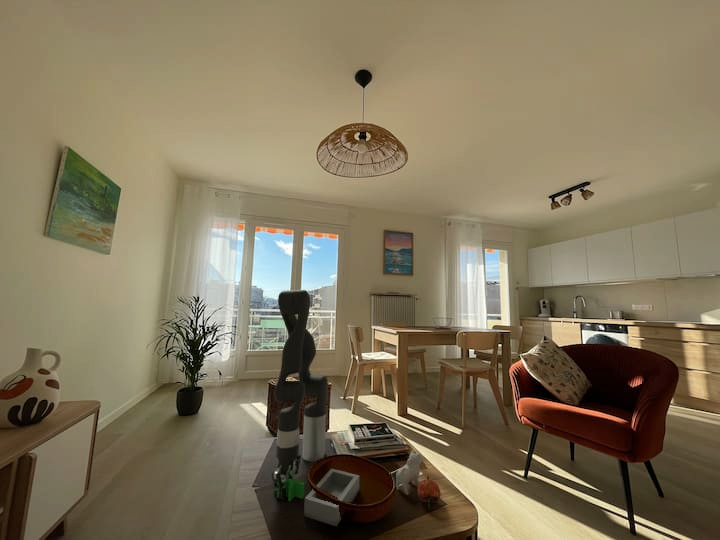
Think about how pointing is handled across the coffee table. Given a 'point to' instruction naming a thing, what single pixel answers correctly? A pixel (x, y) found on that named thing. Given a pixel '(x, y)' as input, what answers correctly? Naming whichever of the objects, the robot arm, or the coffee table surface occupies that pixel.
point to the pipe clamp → (293, 489)
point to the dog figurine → (409, 471)
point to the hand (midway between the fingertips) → (286, 494)
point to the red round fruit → (429, 491)
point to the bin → (338, 486)
